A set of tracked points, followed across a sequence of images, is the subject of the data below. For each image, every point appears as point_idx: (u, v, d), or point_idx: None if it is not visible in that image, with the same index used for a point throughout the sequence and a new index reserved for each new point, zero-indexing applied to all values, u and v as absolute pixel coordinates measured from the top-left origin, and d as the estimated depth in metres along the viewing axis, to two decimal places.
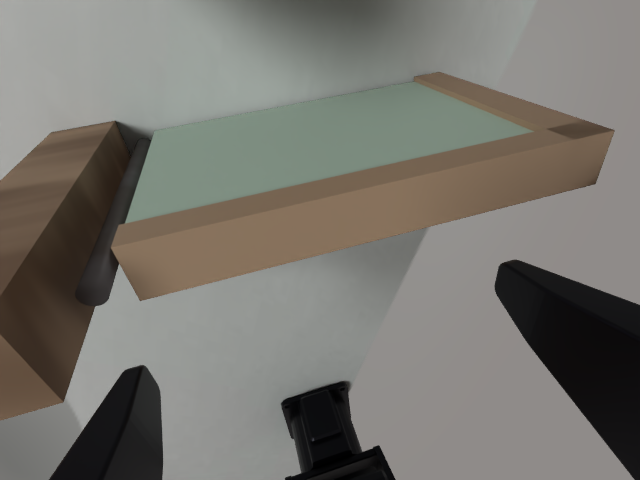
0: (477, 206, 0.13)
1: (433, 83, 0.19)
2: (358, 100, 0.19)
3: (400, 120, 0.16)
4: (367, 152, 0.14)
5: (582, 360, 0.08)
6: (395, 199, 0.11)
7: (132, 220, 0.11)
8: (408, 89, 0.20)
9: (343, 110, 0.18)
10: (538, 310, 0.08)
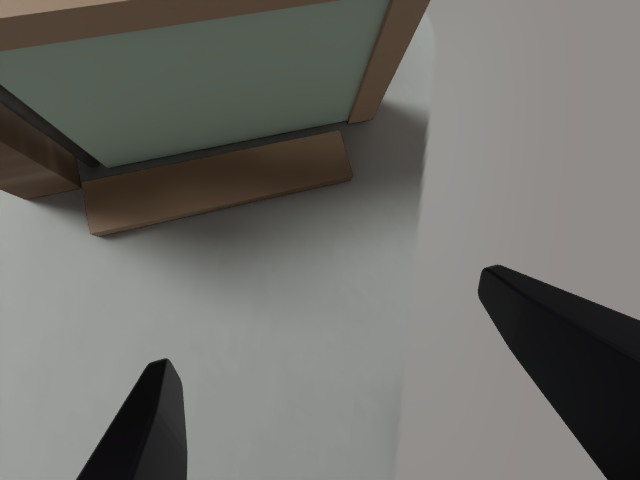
0: None
1: None
2: None
3: None
4: None
5: (562, 367, 0.08)
6: None
7: None
8: None
9: None
10: (519, 316, 0.08)
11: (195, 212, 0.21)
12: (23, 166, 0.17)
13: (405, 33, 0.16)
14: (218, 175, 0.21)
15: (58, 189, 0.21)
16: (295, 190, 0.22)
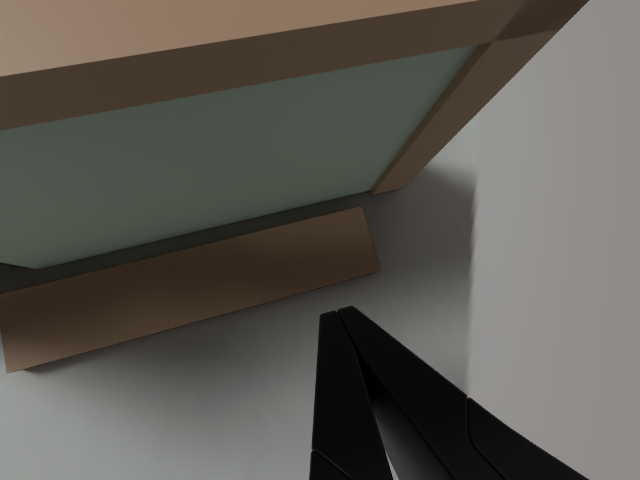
0: (346, 2, 0.06)
1: None
2: None
3: None
4: None
5: (387, 426, 0.07)
6: None
7: None
8: None
9: None
10: None
11: (162, 330, 0.15)
12: None
13: (481, 97, 0.10)
14: (195, 276, 0.15)
15: None
16: (302, 292, 0.16)
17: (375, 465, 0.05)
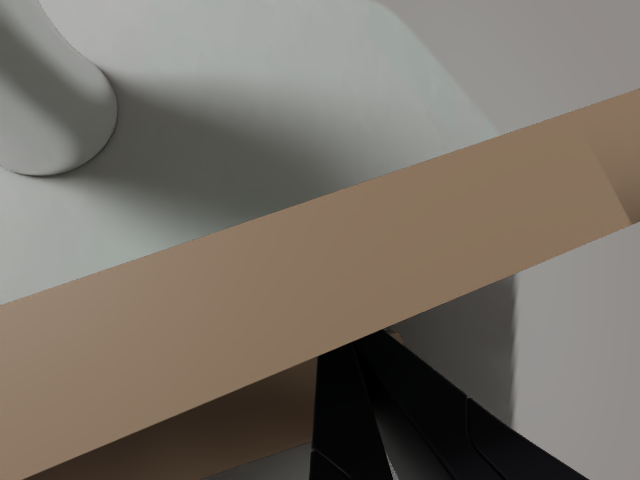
0: (437, 280, 0.05)
1: None
2: None
3: None
4: None
5: (387, 427, 0.07)
6: (203, 286, 0.05)
7: None
8: None
9: None
10: None
11: (192, 478, 0.14)
12: None
13: None
14: (226, 419, 0.14)
15: None
16: None
17: (375, 465, 0.05)
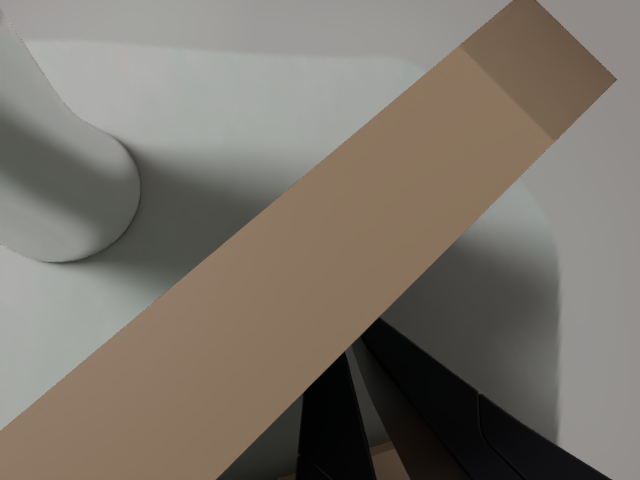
0: (382, 275, 0.05)
1: None
2: None
3: None
4: None
5: (397, 423, 0.07)
6: (140, 385, 0.04)
7: None
8: None
9: None
10: (367, 363, 0.08)
11: None
12: None
13: None
14: None
15: None
16: None
17: (360, 470, 0.05)
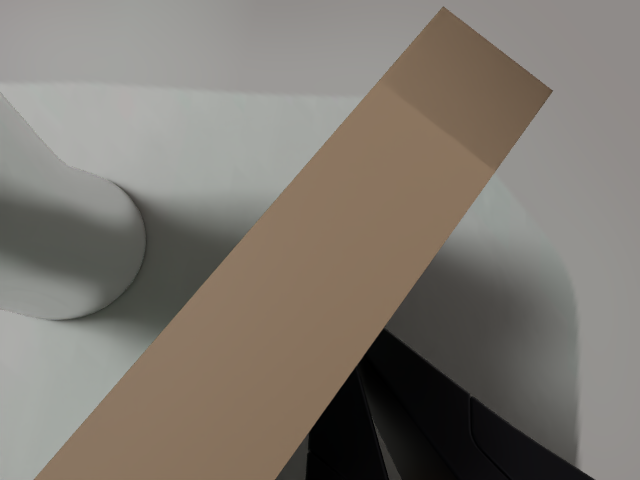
0: (327, 356, 0.04)
1: None
2: None
3: None
4: None
5: (390, 426, 0.07)
6: None
7: None
8: None
9: None
10: (360, 365, 0.08)
11: None
12: None
13: None
14: None
15: None
16: None
17: (371, 466, 0.05)
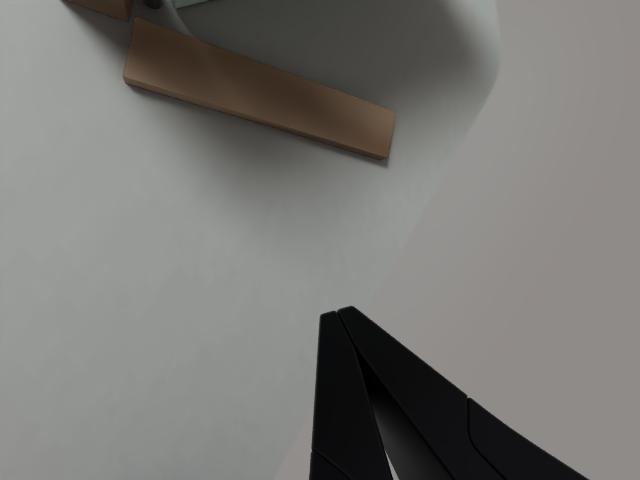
0: None
1: None
2: None
3: None
4: None
5: (387, 427, 0.07)
6: None
7: None
8: None
9: None
10: None
11: (237, 114, 0.20)
12: None
13: None
14: (275, 90, 0.20)
15: (104, 9, 0.18)
16: (334, 143, 0.22)
17: (375, 465, 0.05)
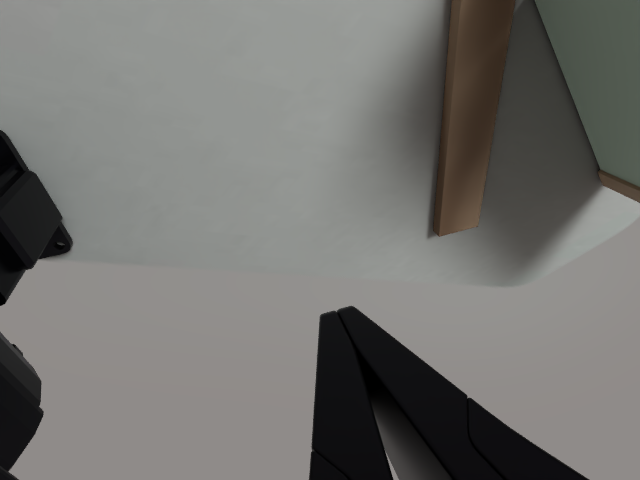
0: None
1: None
2: None
3: None
4: None
5: (387, 427, 0.07)
6: None
7: None
8: None
9: None
10: None
11: (448, 93, 0.20)
12: None
13: None
14: (477, 120, 0.21)
15: None
16: (439, 188, 0.24)
17: (375, 465, 0.05)
